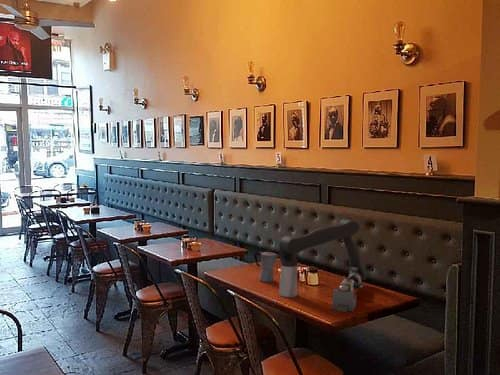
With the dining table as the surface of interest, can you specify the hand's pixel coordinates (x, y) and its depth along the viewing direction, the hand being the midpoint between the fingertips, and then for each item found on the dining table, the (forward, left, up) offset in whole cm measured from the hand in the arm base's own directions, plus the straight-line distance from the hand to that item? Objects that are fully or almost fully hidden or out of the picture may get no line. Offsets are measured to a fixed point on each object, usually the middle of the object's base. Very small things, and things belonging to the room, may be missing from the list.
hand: (348, 288), depth 257 cm
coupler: (0, -14, -7) cm, 15 cm away
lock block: (0, -5, -7) cm, 8 cm away
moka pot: (-55, +20, -7) cm, 59 cm away
